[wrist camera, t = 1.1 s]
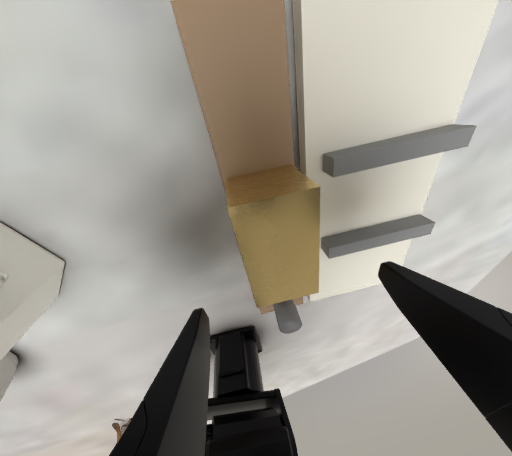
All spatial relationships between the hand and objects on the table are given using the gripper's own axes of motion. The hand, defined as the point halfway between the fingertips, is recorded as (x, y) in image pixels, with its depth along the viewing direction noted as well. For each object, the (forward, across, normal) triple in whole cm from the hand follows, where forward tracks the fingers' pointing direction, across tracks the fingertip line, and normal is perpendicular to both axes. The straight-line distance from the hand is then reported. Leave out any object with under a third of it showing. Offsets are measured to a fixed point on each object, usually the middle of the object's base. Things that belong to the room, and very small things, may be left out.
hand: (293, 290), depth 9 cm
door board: (+8, -6, 0) cm, 10 cm away
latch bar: (+7, 0, 0) cm, 7 cm away
